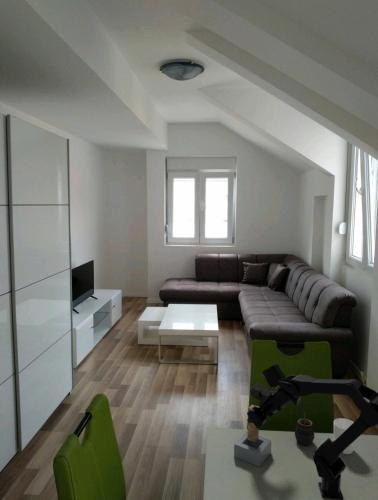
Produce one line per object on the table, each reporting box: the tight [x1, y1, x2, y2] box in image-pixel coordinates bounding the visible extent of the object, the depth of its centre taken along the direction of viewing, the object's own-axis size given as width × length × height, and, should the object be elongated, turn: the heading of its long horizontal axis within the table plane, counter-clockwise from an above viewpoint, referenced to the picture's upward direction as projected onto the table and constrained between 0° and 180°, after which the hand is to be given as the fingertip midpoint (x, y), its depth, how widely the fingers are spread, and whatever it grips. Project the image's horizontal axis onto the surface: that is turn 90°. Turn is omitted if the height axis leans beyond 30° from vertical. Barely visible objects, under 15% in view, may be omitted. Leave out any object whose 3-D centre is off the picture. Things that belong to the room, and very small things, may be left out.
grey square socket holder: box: [233, 431, 272, 468], centre depth 145 cm, size 10×10×5 cm
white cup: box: [333, 417, 356, 455], centre depth 149 cm, size 8×8×10 cm
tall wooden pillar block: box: [247, 404, 260, 442], centre depth 144 cm, size 3×3×12 cm
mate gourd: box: [294, 411, 315, 446], centre depth 153 cm, size 7×8×10 cm
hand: (250, 419), depth 145 cm, fingers closed on tall wooden pillar block, 3 cm apart
